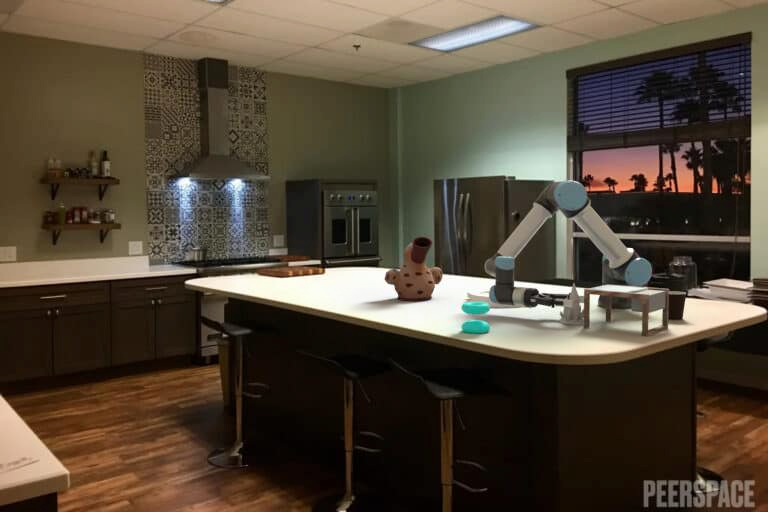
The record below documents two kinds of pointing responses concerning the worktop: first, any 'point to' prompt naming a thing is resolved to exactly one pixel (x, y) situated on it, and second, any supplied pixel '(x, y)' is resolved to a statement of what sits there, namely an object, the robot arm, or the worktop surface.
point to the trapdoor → (654, 299)
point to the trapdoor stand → (628, 295)
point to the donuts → (475, 325)
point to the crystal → (573, 310)
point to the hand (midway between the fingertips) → (579, 301)
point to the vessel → (415, 273)
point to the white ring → (484, 298)
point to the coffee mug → (676, 305)
